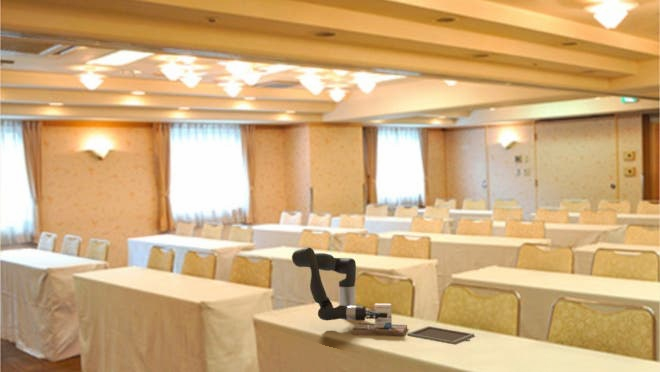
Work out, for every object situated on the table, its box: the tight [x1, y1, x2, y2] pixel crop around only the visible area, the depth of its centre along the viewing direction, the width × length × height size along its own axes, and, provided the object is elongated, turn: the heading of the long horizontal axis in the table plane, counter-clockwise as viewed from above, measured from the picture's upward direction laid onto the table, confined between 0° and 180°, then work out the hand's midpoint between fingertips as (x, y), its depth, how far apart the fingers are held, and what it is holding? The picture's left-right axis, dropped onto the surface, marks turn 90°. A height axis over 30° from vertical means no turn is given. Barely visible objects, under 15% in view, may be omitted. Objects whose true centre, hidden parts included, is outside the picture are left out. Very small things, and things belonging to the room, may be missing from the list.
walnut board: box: [351, 322, 408, 337], centre depth 342 cm, size 16×26×2 cm, turn 75°
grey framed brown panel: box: [406, 326, 475, 345], centre depth 330 cm, size 19×2×30 cm
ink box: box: [374, 303, 393, 328], centre depth 341 cm, size 9×5×12 cm, turn 84°
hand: (388, 314), depth 341 cm, fingers closed on ink box, 5 cm apart
